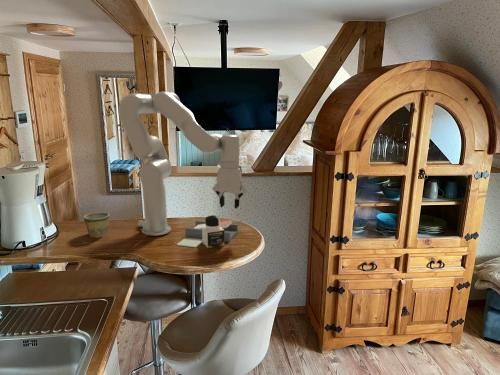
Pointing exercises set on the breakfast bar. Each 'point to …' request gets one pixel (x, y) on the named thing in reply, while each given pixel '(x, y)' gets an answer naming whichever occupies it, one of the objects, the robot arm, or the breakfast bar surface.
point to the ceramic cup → (97, 224)
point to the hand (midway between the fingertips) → (229, 206)
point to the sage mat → (190, 242)
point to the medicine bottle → (212, 232)
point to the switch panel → (197, 233)
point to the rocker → (222, 225)
